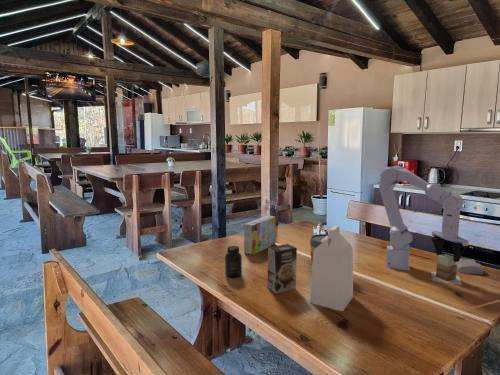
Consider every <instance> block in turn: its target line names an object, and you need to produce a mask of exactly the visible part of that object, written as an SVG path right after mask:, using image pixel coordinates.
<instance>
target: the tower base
mask: <svg viewBox="0 0 500 375" xmlns="http://www.w3.org/2000/svg"><path fill="white" fill-rule="evenodd" d="M435 272H436V277H438V278H440V279H443V280H445V281H451V280H455V279H456V275H458V274H457V272H458V271H457V272H455V273H450V274H446V273H444V272H441V271H439V270H436V271H435Z"/></svg>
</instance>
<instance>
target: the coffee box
mask: <svg viewBox="0 0 500 375" xmlns="http://www.w3.org/2000/svg"><path fill="white" fill-rule="evenodd" d="M297 252H298V248H297V247H296V246H293V245H291V244H289V243H285V244H280V245H275V246H274V245H272V246H270V247H268V248H267V288H268V289H269V290H270V291H272V292H273V293H274V294H280V293H284V292H289V291H293V290H296V289H297V256H298V255H297Z"/></svg>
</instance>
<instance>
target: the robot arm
mask: <svg viewBox="0 0 500 375" xmlns="http://www.w3.org/2000/svg"><path fill="white" fill-rule="evenodd" d="M379 176H380V180H379V184H378V190H379V193H380V196H381V199H382V203H383V205H384V209H385V213H386V216H387V219H388V221H389V225H390V230H389V236H390V238H389V243H390V245H386V256H385V259H384V260H385V268H387V269H395V270H396V269H397V270H402V271H411V268H410V255H411V254H410V253H411V252H410V250H411V246H410V244H411V243H412V242H413V238H414V237H413V234H412V233H411V232H410V230H409V228H408V226H407V225H406V224H405V223H404V221H403V217H402V214H401V211H400V208H399V204H398V201H397V197H396V194H395V192H394V188H395V187H396V185H397V183H398V182H407V183H409V184H411V185H413V186H415V187H417V188H419V189H420V190H423V191H424V195H426V196H427V197H429V198H430V199H431V200H434V201H435V202H437V203H439V204H441V206H442V208H443V212H442V220H441V222H442V223H441V231H437V230H434V231H433V230H432V231H431V241H432V243H433V245H434V249H435V253H436V256H437V257H438V255H443V249H444V243H445V241H449V242H452V243H454V244H452V249H453V257H454V262H459V260H460V258H462V255H463V253H464V252H465V251H466V249H467V248H468V246H469V241H470V240H468V239H465V238H463V237H461V236H459V228H460V221H461V219H460V218H461V206H462V205H463V203H464V199H463V198H462V196H461V195H460V194H459V193H455V192H453V191H451V190H447V189H445V188H444V187H443V186H441V185H442V184H440V183H436V182H433V183H429V182H427V181H426V180H424V179H423V178H421V177H420V176H418V175H417V174H415V173H413V172H411V171H409V169H407V168H404V167H403V166H401V165H395V166H387V167H385V168H383V169H382V171H381V172H380V174H379Z"/></svg>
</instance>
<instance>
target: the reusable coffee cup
mask: <svg viewBox="0 0 500 375" xmlns="http://www.w3.org/2000/svg"><path fill="white" fill-rule="evenodd" d="M328 235H329V233H328V234H327V233H326V234H325V233H319V234H318V233H317V234H314V235H311V236H310V240H309V241H310V242H309V245H310V252H309V253H310V259H311V262H312V263H313V252H314V250H315V249H316V248H317V247H318V246H319V245H320V244H322V241H321V240H322V239H323V238H324V237H326V236H328Z"/></svg>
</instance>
